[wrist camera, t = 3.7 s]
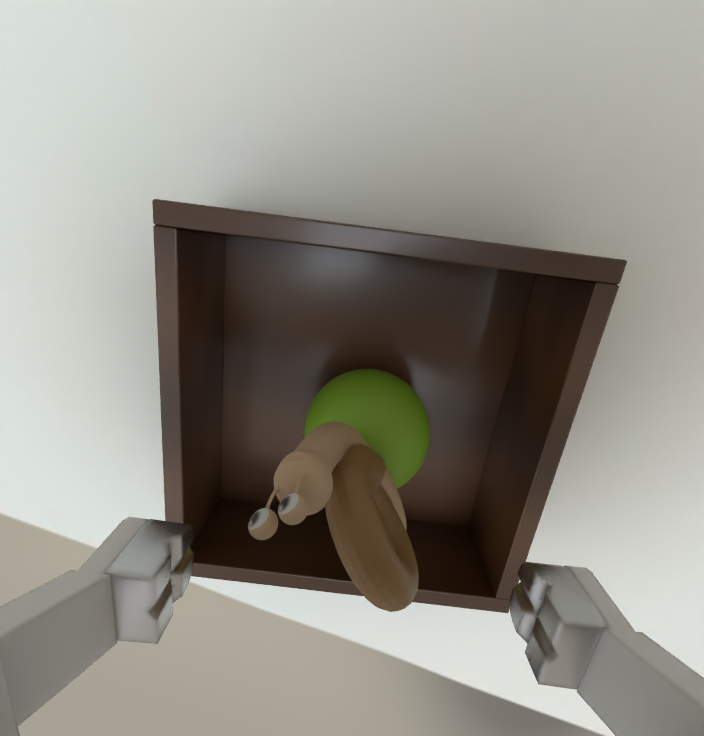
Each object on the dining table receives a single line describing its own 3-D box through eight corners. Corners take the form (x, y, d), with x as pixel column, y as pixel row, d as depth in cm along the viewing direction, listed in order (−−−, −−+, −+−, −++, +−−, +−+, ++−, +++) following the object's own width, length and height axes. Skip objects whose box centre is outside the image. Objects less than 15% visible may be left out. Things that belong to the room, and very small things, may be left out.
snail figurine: (376, 316, 17) (404, 444, 6) (438, 423, 19) (556, 687, 7) (281, 372, 18) (146, 575, 7) (348, 469, 20) (329, 766, 8)
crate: (212, 213, 17) (151, 198, 12) (552, 257, 17) (628, 260, 12) (211, 500, 21) (167, 573, 17) (475, 532, 22) (508, 614, 17)
